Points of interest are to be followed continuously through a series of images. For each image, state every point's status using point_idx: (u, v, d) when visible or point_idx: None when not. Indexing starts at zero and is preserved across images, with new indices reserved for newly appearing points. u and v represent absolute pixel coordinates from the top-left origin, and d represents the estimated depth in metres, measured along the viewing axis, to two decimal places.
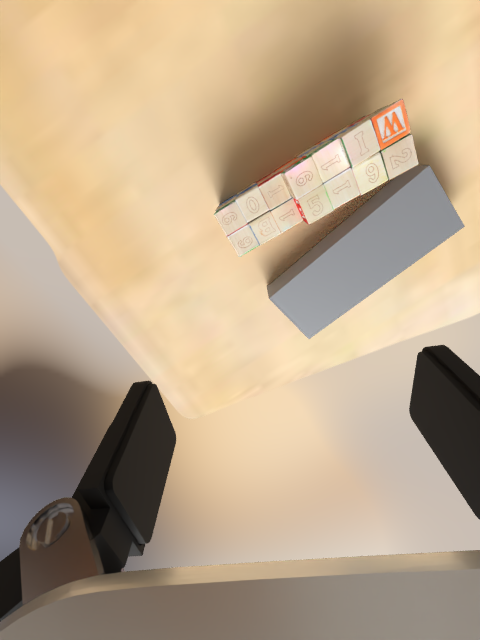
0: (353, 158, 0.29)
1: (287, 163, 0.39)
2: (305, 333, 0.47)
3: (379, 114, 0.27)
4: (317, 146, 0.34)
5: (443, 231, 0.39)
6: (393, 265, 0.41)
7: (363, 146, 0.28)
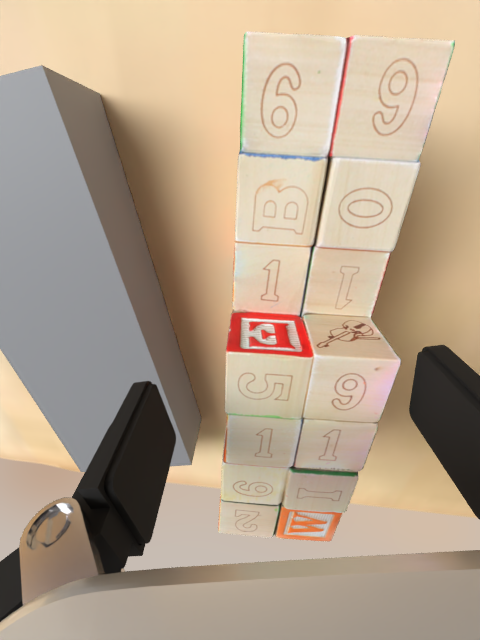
0: (305, 479, 0.13)
1: None
2: None
3: (337, 519, 0.14)
4: None
5: (84, 453, 0.24)
6: (48, 385, 0.20)
7: (311, 495, 0.13)
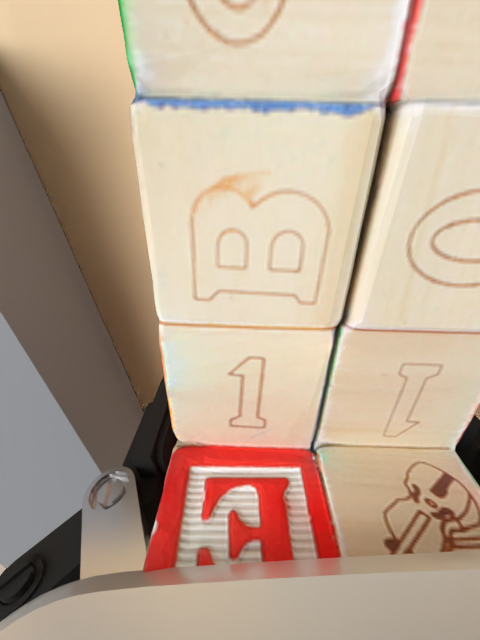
0: None
1: None
2: None
3: None
4: None
5: (10, 553, 0.17)
6: None
7: None
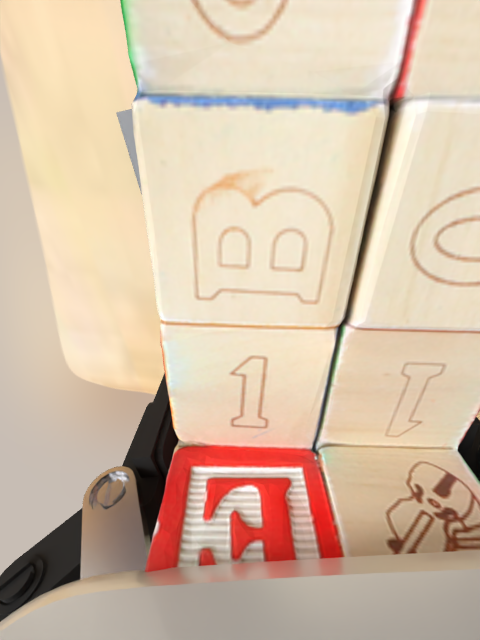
0: None
1: None
2: None
3: None
4: None
5: None
6: None
7: None
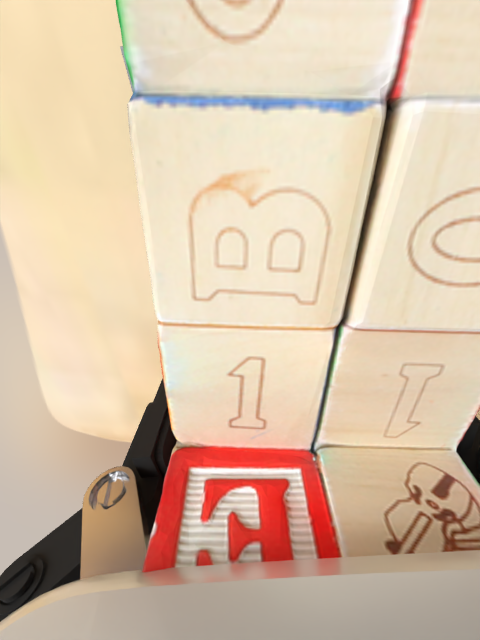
0: None
1: None
2: None
3: None
4: None
5: None
6: None
7: None
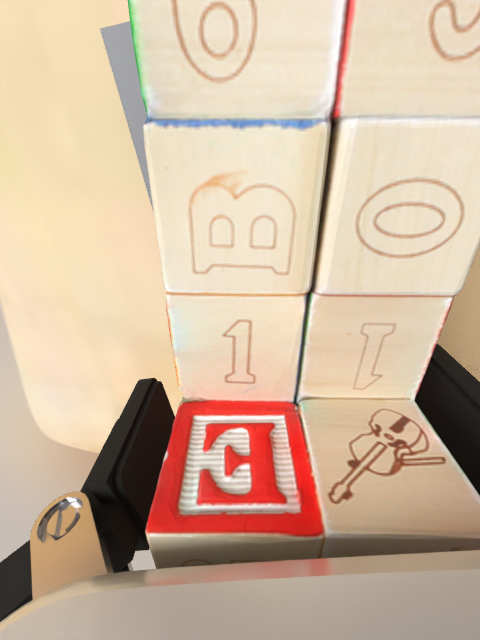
0: None
1: None
2: None
3: None
4: None
5: None
6: None
7: None
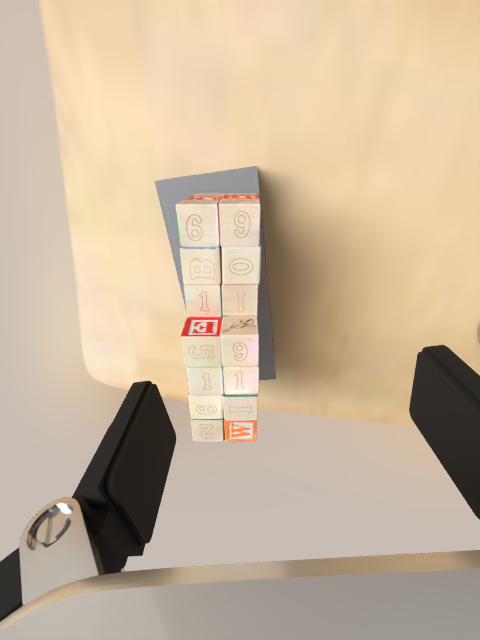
0: (231, 400, 0.25)
1: None
2: (167, 182, 0.28)
3: (255, 425, 0.27)
4: None
5: None
6: None
7: (236, 410, 0.25)
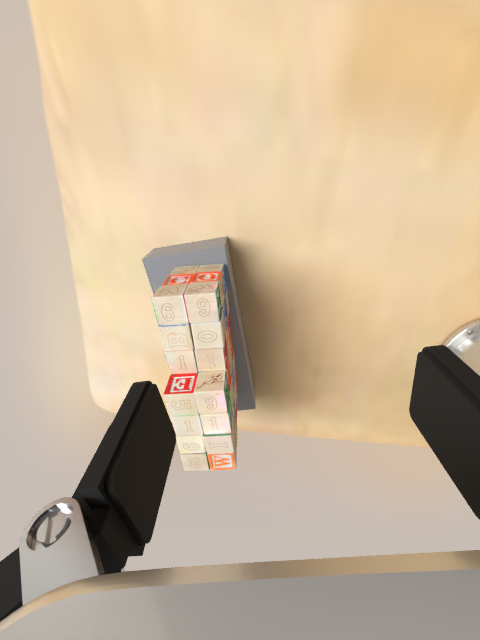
0: (209, 439, 0.31)
1: (231, 343, 0.38)
2: (152, 259, 0.34)
3: (233, 456, 0.32)
4: (232, 385, 0.36)
5: None
6: None
7: (215, 446, 0.31)
